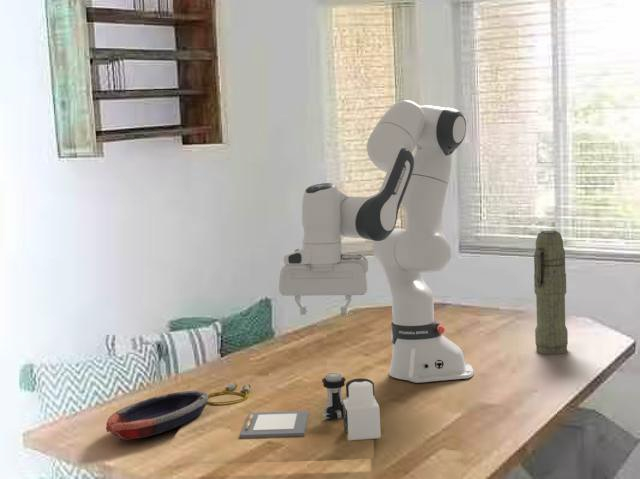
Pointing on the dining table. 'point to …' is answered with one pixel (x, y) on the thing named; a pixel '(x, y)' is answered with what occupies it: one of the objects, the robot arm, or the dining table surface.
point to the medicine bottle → (361, 411)
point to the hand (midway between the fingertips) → (324, 314)
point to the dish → (156, 414)
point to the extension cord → (230, 389)
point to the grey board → (275, 424)
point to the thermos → (550, 293)
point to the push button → (334, 396)
